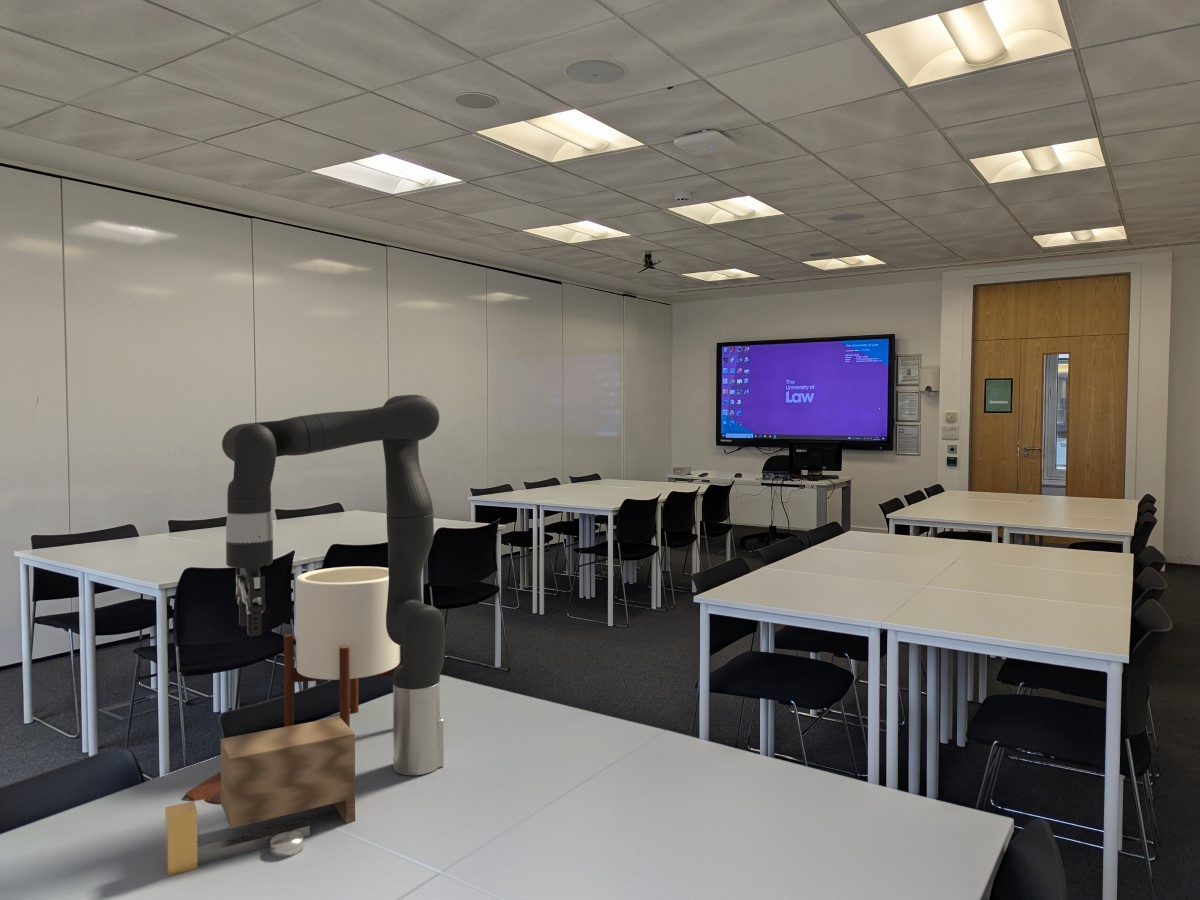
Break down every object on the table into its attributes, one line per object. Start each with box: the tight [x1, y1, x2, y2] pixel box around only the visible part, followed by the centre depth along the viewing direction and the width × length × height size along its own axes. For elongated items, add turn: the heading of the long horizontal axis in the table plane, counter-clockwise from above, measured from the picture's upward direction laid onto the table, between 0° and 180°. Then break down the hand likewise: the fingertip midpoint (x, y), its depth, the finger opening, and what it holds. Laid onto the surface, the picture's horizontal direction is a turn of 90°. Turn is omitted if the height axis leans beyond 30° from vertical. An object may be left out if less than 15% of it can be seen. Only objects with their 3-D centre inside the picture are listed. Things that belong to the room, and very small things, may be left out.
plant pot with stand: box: [283, 565, 404, 729], centre depth 181 cm, size 22×22×36 cm
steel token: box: [270, 831, 305, 859], centre depth 130 cm, size 5×5×2 cm
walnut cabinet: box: [220, 716, 356, 830], centre depth 138 cm, size 20×10×15 cm, turn 123°
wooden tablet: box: [183, 770, 221, 805], centre depth 160 cm, size 27×10×2 cm, turn 169°
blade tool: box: [164, 800, 311, 877], centre depth 130 cm, size 21×4×9 cm, turn 123°
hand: (250, 630), depth 140 cm, fingers open, 8 cm apart
